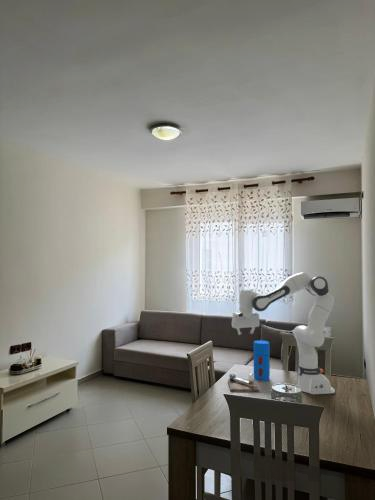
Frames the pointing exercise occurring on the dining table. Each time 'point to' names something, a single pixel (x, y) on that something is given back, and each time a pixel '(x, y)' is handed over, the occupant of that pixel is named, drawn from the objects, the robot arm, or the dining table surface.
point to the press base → (243, 386)
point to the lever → (250, 382)
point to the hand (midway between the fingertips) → (245, 334)
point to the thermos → (261, 360)
